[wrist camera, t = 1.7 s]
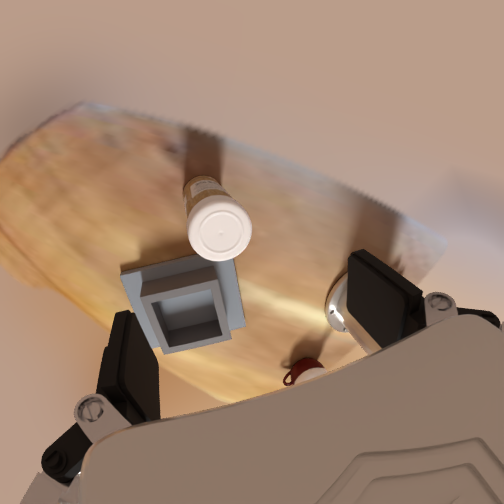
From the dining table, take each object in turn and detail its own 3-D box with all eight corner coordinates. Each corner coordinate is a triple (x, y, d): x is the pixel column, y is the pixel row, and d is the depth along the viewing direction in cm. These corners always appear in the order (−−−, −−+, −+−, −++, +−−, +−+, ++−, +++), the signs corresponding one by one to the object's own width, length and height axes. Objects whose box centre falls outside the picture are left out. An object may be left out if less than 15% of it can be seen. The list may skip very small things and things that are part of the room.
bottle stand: (229, 246, 34) (237, 261, 30) (244, 322, 40) (252, 342, 36) (121, 272, 32) (115, 290, 28) (150, 343, 37) (150, 365, 33)
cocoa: (275, 375, 47) (295, 429, 36) (289, 351, 45) (314, 406, 34) (319, 376, 50) (343, 423, 39) (334, 353, 48) (363, 401, 37)
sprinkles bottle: (177, 206, 31) (179, 253, 19) (191, 169, 30) (201, 191, 18) (214, 218, 33) (239, 270, 21) (228, 182, 31) (263, 212, 19)
